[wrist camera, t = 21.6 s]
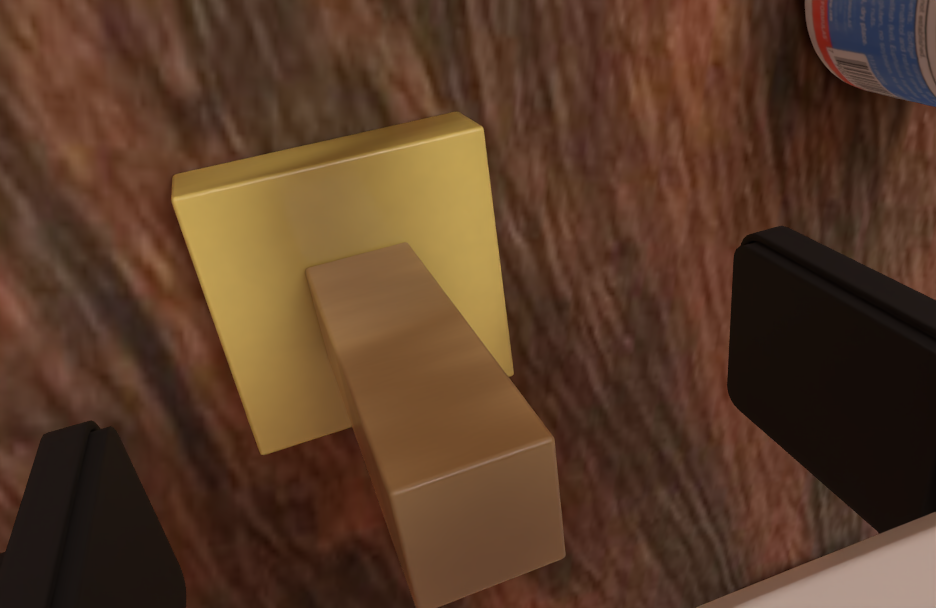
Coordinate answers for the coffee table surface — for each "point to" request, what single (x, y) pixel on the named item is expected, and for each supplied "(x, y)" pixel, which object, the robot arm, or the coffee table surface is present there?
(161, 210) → the coffee table surface
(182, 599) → the robot arm
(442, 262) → the square plate with grip
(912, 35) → the pill bottle
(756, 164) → the coffee table surface
